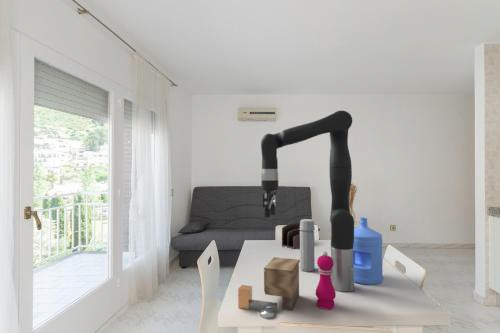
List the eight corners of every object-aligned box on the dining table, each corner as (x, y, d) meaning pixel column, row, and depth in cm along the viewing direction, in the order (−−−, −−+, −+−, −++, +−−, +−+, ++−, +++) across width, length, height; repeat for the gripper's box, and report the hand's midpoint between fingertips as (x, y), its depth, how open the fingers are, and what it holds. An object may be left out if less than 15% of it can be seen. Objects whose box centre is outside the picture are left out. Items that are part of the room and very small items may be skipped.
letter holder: (281, 247, 203) (281, 225, 203) (299, 241, 217) (298, 221, 217) (293, 249, 196) (293, 227, 196) (311, 244, 210) (310, 223, 210)
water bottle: (315, 272, 151) (314, 221, 151) (299, 271, 152) (298, 221, 153) (315, 266, 160) (314, 218, 160) (299, 266, 161) (299, 218, 162)
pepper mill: (332, 301, 118) (331, 248, 118) (338, 309, 110) (337, 253, 111) (313, 301, 117) (313, 249, 118) (318, 310, 110) (317, 254, 110)
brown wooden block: (300, 295, 123) (299, 259, 124) (292, 311, 110) (292, 270, 110) (274, 292, 127) (273, 257, 127) (263, 306, 113) (263, 267, 113)
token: (273, 312, 109) (273, 308, 109) (275, 319, 104) (275, 314, 104) (259, 312, 109) (259, 308, 109) (260, 319, 104) (260, 314, 104)
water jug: (365, 271, 151) (365, 214, 152) (390, 282, 137) (390, 219, 137) (339, 275, 146) (338, 216, 146) (362, 287, 131) (362, 221, 132)
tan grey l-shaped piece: (277, 308, 112) (277, 289, 112) (274, 313, 108) (274, 293, 108) (242, 303, 116) (242, 284, 116) (238, 307, 113) (238, 288, 113)
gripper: (273, 179, 128) (274, 218, 128) (281, 178, 142) (282, 214, 141) (256, 179, 131) (257, 218, 130) (266, 178, 144) (266, 213, 144)
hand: (270, 216), depth 136 cm, fingers open, 8 cm apart
